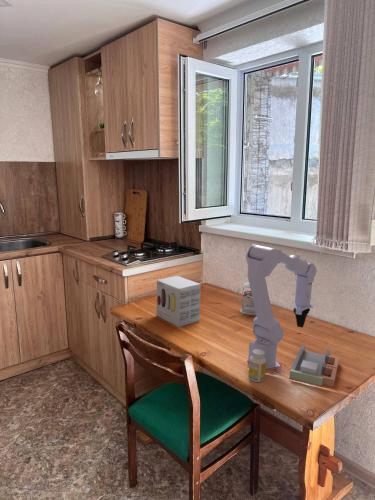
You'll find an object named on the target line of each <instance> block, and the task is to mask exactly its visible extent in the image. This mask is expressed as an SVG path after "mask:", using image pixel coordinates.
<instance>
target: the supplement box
mask: <svg viewBox="0 0 375 500" xmlns="http://www.w3.org/2000/svg"><path fill="white" fill-rule="evenodd" d="M201 285H202V284H201V283H199V282H196V281H194V280H191V279H189V278H188V279H187V278H184V277H183V276H179V275H176V276H175V275H174V276H170V277H166V278H161V279H157V280H156V315H155V316H157V317H159V318H160V319H162V320H163V321H166V322H167V323H170V324H172V325H173V326H175V327H177V328H180V327H183V326H184V327H185V326H187V325H191V324H194V323H196V322H200V321H201V320H200V317H201V316H200V315H201V288H202V287H201Z"/></svg>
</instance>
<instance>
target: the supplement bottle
mask: <svg viewBox="0 0 375 500" xmlns="http://www.w3.org/2000/svg"><path fill="white" fill-rule="evenodd" d="M264 356H265V352H264V351H263V350H260V349H254V350H253V351H252V356H251V357H250V363H249V362H248V363H249V366H248V368H249V369H248V378H249V380H251V382H255V383H260V382H264V381H265V377H266V369H267V368H266V359H265V357H264ZM265 368H266V369H265Z"/></svg>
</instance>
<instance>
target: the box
mask: <svg viewBox="0 0 375 500" xmlns="http://www.w3.org/2000/svg"><path fill="white" fill-rule="evenodd" d="M303 360H306V361H310V362H314V363H318V372H317V375H312V374H308V373H304V372H300V368H301V364H302V362H303ZM339 361H340V357H339V356H335V355H331V349H326V352H325V354H322V353H318V352H313V351H309V350H306V344H301V346H300V349H299V351H298V353H297V355H296V357H295V359H294V361H293V364H292V365H291V368H290V369H289V380H292V381H296V382H300V383H304V384H308V385H312V386H315V387H319V388H323V385H324V386H328V387H332V388H334V386H335V381H336V378H337V377H336V376H337V373H338V368H339ZM322 374H323V375H322Z"/></svg>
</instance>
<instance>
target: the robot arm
mask: <svg viewBox="0 0 375 500" xmlns="http://www.w3.org/2000/svg"><path fill="white" fill-rule="evenodd" d="M245 259H246V263H247V280H248V282H249V284H250V288H249V289H250V291H251V293H252V297H251V298H253V302H254V306H255V310H256V316H255V317H254V318H253V320H252V334H253V335H254V336H255V338H254V339H255V340H254V341H251V342H250V343H249V345H248V346H249V347H248V358H247V359H246V360H247V362H248V363H250V357H251V356H252V351H253V350H254V349H260V350H263V351H264V352H265V356H264V357H265V359H266V368H265V370H266V369H270V368H277V367H281V366H282V365H280V364H279V363H278V362H277V352H278V344H280V342H281V341H282V340H283V337H284V329H283V328H282V327H281V324H280V321H278V320H277V318H276V317H275V316H274V313H273V309H272V304H271V300H270V295H269V290H268V285H267V281H266V278H267V277H269V276H270V275H271V274H272V273H273V271H274V270H275V268H276V267H277V266H278V264H283V265H284V267H285V268H286V270H288V271H289V272H292V273H294V275H295V276H296V282H295V283H296V284H295V293H294V303H293V305H294V308H293V313H294V316H295V320H296V326H297V327H298V328H303V327H304V325H305V322H306V319H307V317H308V314H310V311H311V309H314V304H311V298H312V288H313V283H314V280H315V277H316V274H317V271H318V270H317V267H316V265H315V263H312V262H308V261H307V259H304V258H301V255H299V254H294V255H293V254H292V255H291V254H290V255H288V254H287V253H285V252H283V251H282V250H281V249H279V248H278V249H277V248H275V247H274V248H272V247H267V246H264V245H259V244H257V243H256V244H255V243H253V244H252V245H251V246H249V248H248V250H247V252H246V254H245ZM310 308H311V309H310Z"/></svg>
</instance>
